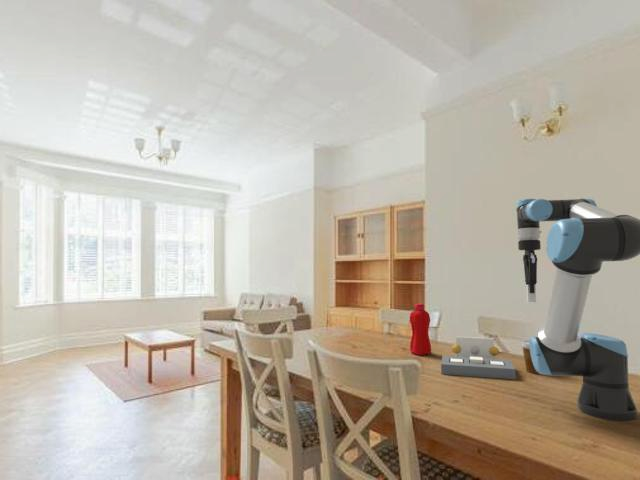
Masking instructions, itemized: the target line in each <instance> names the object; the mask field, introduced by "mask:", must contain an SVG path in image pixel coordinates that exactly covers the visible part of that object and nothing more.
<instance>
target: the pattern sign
mask: <svg viewBox="0 0 640 480" xmlns="http://www.w3.org/2000/svg"><path fill="white" fill-rule="evenodd" d="M455 337H456V338H455V342H456V343H455V344H454V345H452V347H451V351H452V352H453V353H454V354H456V356H462V357H470V356H471V357H482V358H494V359H495V357H496V356H498V355H499V352H500V351H499V350H500V349H499V348H498V347H497V346H495V342H494V341H495V340H494V338H491V337H475V336H474V337H472V336H455Z"/></svg>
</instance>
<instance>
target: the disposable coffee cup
mask: <svg viewBox="0 0 640 480" xmlns="http://www.w3.org/2000/svg"><path fill="white" fill-rule="evenodd" d="M521 343H522V344H521V348H522V352H523V358H524V363H525V364H524V365H525V369H526V370H525V371H526V372H527V373H530V374H535V375H541V374H540V373H538V372H537V371H536V369H535V367H534V365H533V362H532V358H531V354H530V347H529V340H524V341H522V342H521Z"/></svg>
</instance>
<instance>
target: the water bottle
mask: <svg viewBox="0 0 640 480" xmlns="http://www.w3.org/2000/svg"><path fill="white" fill-rule="evenodd" d="M414 306H415V307H414V310H412V311H411V312H410V314H409V321H408V324H409V325H410V327H411V329H410V328H408V330H409V331H411V333H412V334H411V339H410V343H409V344H410V345H409V349H410V352H411V353H412V354H414V355H416V356H424V355H425V356H427V355H430V354H431V353H432V345H431V341H430V336H429V328H430V323H431V317H430V313H429V312H428V311H427V310H425V305H424V304H423V303H415V304H414Z"/></svg>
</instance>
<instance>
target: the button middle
mask: <svg viewBox="0 0 640 480" xmlns="http://www.w3.org/2000/svg"><path fill="white" fill-rule="evenodd" d="M470 363H476V364H483V358H482V357H471V356H470Z"/></svg>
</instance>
